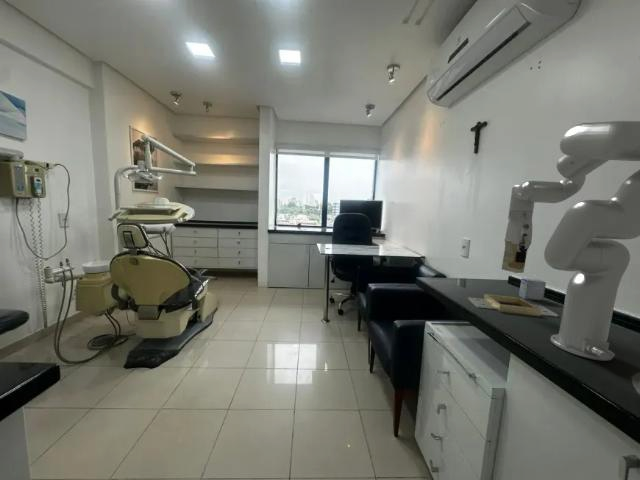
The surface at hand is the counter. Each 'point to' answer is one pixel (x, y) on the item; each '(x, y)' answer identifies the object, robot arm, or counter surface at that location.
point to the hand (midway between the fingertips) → (514, 260)
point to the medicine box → (532, 289)
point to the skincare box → (512, 258)
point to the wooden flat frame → (526, 308)
